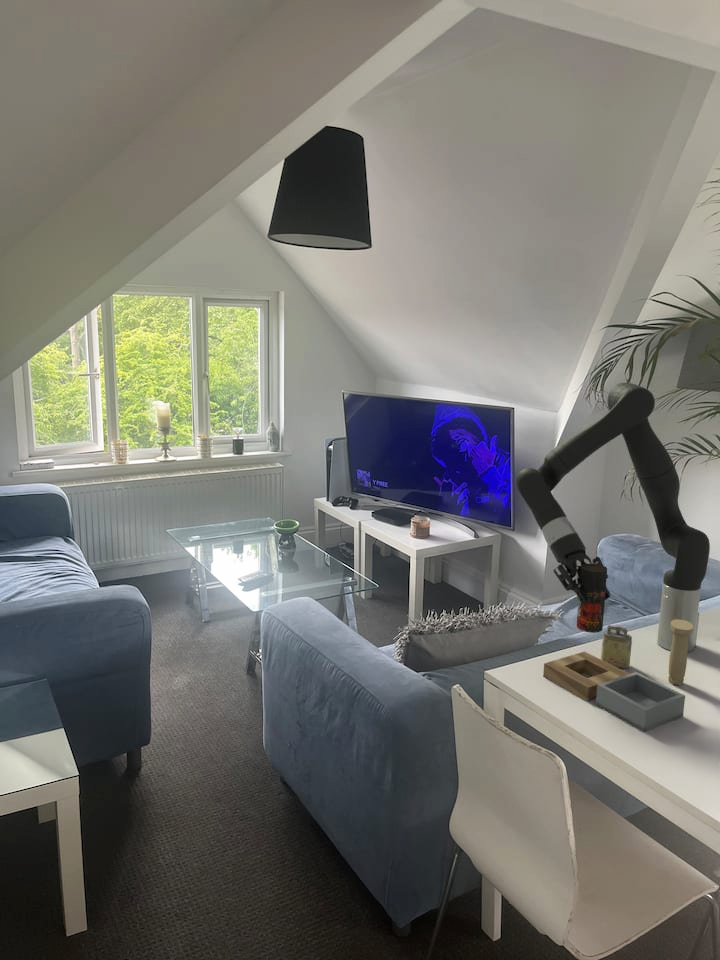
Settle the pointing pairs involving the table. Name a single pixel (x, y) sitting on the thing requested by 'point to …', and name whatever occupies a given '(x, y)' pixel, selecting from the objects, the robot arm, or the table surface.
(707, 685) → the table surface
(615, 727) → the table surface
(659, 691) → the bin
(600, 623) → the deodorant
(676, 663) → the handle
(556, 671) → the holder
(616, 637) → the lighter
